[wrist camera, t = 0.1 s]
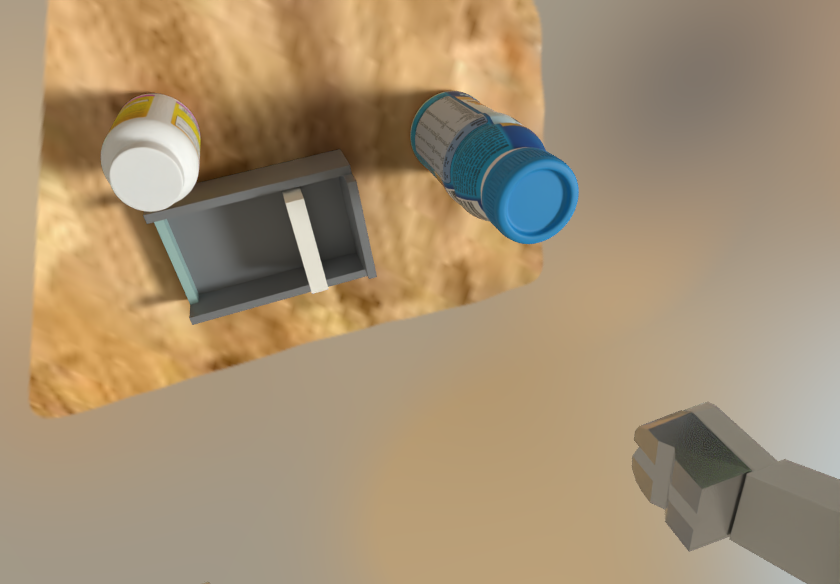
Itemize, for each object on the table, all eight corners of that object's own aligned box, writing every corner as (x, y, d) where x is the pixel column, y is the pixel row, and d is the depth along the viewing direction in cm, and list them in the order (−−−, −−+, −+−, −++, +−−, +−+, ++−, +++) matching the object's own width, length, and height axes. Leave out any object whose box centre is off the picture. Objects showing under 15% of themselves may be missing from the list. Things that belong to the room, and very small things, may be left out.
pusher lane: (148, 194, 52) (140, 224, 46) (340, 149, 55) (354, 172, 49) (194, 298, 58) (191, 336, 53) (363, 252, 61) (378, 283, 56)
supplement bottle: (109, 153, 49) (81, 208, 39) (126, 79, 47) (101, 116, 36) (190, 178, 52) (184, 235, 42) (210, 109, 50) (208, 152, 39)
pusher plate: (279, 180, 54) (285, 203, 49) (295, 175, 54) (303, 198, 49) (304, 264, 59) (312, 293, 54) (319, 260, 59) (328, 289, 54)
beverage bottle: (403, 94, 54) (484, 157, 38) (485, 82, 56) (596, 136, 40) (410, 178, 59) (486, 267, 42) (486, 164, 61) (586, 244, 44)
